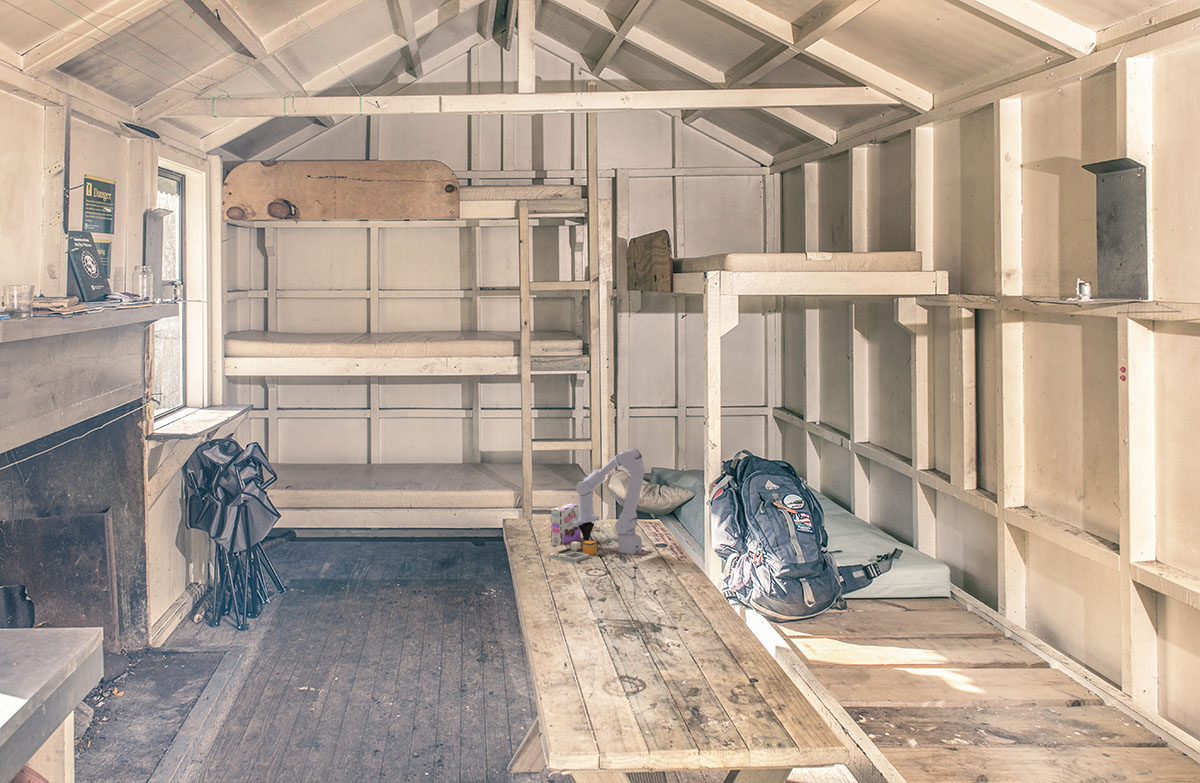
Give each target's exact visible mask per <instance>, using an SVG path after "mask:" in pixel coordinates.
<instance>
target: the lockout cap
mask: <svg viewBox="0 0 1200 783" xmlns="http://www.w3.org/2000/svg"><path fill="white" fill-rule="evenodd" d="M597 544H598V542H597V541H595V540H590V539H589V540H588V541H586V540H584V541H582V548H583V553H584V554H589V555H593V554H596V553H597V552H598V550H597V549H598V548H597Z"/></svg>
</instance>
